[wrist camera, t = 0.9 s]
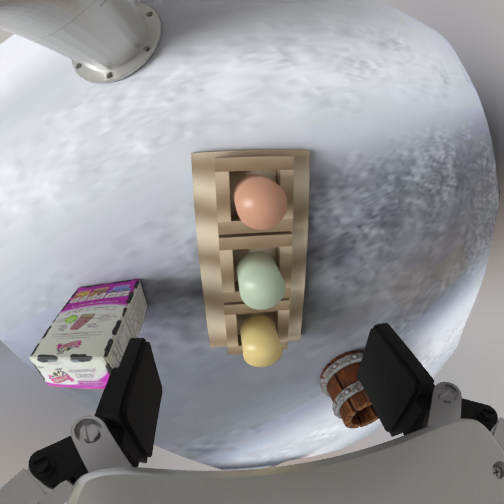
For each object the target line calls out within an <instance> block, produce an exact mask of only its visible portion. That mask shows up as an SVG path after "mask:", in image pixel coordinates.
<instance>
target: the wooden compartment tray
mask: <svg viewBox="0 0 504 504" xmlns="http://www.w3.org/2000/svg"><path fill="white" fill-rule="evenodd" d="M191 159H192V177H193V192H194V206H195V219H196V230H197V241H198V251H199V261H200V271H201V280H202V288H203V296H204V304H205V312H206V320H207V327H208V334H209V341H210V347H211V348H212V347H228V354H242V353H243V349H242V341H241V333H240V327H241V325H242V323H243V322H244V321H245V320H246V319H247V318H249V317H251V316H255V315H264V316H267V317H269V318H271V319H272V320H273V322H274V324H275V327H276V330H277V334H278V337H279V340H280V343H281V347H282V349H287V343H288V341H291V340H299V339H300V334H301V324H302V313H303V301H304V288H305V274H306V258H307V239H308V214H309V170H310V150H237V151H216V152H201V153H191ZM251 174H260V175H264V176H266V177H267V178H269V179H270V180H272V181H273V182H275V183H276V184H278V185H279V186H280V187H281V188H282V189H283V191H284V192H285V194H286V197H287V211H286V214H285V216H284V217H283V219H282V220H281V221H280V222H279V223H278V224H277V225H275V226H274V227H272V228H269V229H265V230H258V229H253V228H251V227H249V226H247V225H246V224H244V223H243V222H242V220H241V219H240V218H239V216H238V213H237V210H236V206H235V202H234V190H235V187H236V185H237V183H238V182H239V181H240V180H241V179H242V178H244V177H246V176H248V175H251ZM251 252H264V253H267V254H269V255H270V256H271V257H272V258H273V259H274V261H275V263H276V265H277V267H278V269H279V271H280V274H281V276H282V278H283V280H284V283H285V294H284V296H283V298H282V299H281V301H280V302H279V303H278V304H276V305H275V306H273V307H271V308H268V309H263V310H258V309H253V308H251V307H249V306H247V305H246V304H245V303H244V302H243V300H242V298H241V296H240V290H239V283H238V276H237V266H238V263H239V262H240V260H241V259H242V258H243V257H244V256H245V255H247V254H249V253H251Z"/></svg>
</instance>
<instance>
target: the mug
mask: <svg viewBox="0 0 504 504" xmlns="http://www.w3.org/2000/svg"><path fill="white" fill-rule="evenodd" d="M363 353H364V352H363V351H355V353H354V352H353V351H350V352H346V353H344V354H342V355H339V356H337V357H336V358H334V359H333V360H332V361H331V362H330V363H331V364H327V366H326V367H325V368H324V369H323V372H322V374H321V380H320V384H321V388H322V393H323V394H326V395H327V396H329V397H331V399H332V401H333V411H334V412H335V413H334V415H335V416H338V417H339V418H342V420H343V422H344V424H345V426H346V427H348V428H358V427H359V426H360V427H363V426H366V425H368V424H370V423H372V422H374V421H376V420H377V419H379V417H378V415H377V413H376V411H375V409H374V407H373V405H372V403H371V402H370V400H369V398H368V396H367V394H366V392H365V390H364V388H363V387H362V385H361V383H360V381H359V379H358V375H357V372H358V369H359V366H360V363H361V360H362V357H363Z"/></svg>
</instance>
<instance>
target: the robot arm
mask: <svg viewBox="0 0 504 504" xmlns="http://www.w3.org/2000/svg"><path fill="white" fill-rule="evenodd" d="M0 29H2V30H5V31H8V32H11V33H14V34H17V35H19V36H22V37H24V38H26V39H28V40H31V41H33V42H36V43H38V44H40V45H42V46H45V47H47V48H49V49H51V50H53V51H56V52H58V53H60V54H62V55H64V56H66V57H68V58H70V59H71V60H72V65H73V67H74V69H75V71H76V73H77V74H78V75H79V76H80V77H82V78H83V79H85V80H87V81H90V82H93V83H111V82H115V81H118V80H121V79H123V78H125V77H127V76H129V75H131V74H132V73H134V72H135V71H137V70H138V69H139V68H140V67H142V66H143V65H144V64H145V63H146V62H147V61H148V59H149V58H150V57H151V56H152V55H153V53H154V51H155V49H156V48H157V46H158V43H159V41H160V37H161V31H162V30H161V22H160V19H159V17H158V15H157V13H156V12H155V11H154V10H153V9H152V8H151V7H150V6H148V5H147V4H144V3H141V2H135V1H134V0H0ZM148 49H150V50H149V51H147V50H148ZM112 75H113V76H112ZM111 76H112V78H111ZM357 375H358V379H359V381H360V383H361V385H362V387H363V388H364V390H365V392H366V394H367V396H368V398H369V400H370V402H371V403H372V405H373V407H374V409H375V411H376V413H377V415H378V417H379V419H380V421H381V422H382V424H383V426H384V428H385V430H386V431H387V432H390V434H391V436H395V435H398V434H400V433H402V432H403V434H404V436H402V437H399V438H397V439H394V440H391V441H388V442H385V443H382V444H379V445H376V446H373V447H369V448H366V449H363V450H359V451H356V452H352V453H348V454H344V455H341V456H336V457H332V458H327V459H322V460H318V461H313V462H307V463H301V464H295V465H289V466H281V467H272V468H263V469H251V470H234V471H186V470H184V471H183V470H167V469H152V468H136V467H138V464H139V462H142V463H147V457H151V456H152V451H153V444H154V438H155V431H156V425H157V419H158V413H159V408H160V402H161V397H162V385H161V382H160V378H159V375H158V371H157V368H156V364H155V361H154V357H153V353H152V349H151V345H150V343H149V342H146V340H145V339H144V338H130V340H129V342H128V345H127V347H126V350H125V352H124V355H123V357H122V360H121V362H120V365H119V367H114V368H113V369H112V371H111V374H110V376H109V379H108V381H107V384H106V386H105V389H104V392H103V394H102V397H101V400H100V402H99V405H98V408H97V410H96V413H95V416H83V417H80V418H79V419H77V420H76V421H75V422H74V423H73V425H72V427H71V436H69V437H67V438H65V439H63V440H61V441H58V442H57V443H54V444H52V445H50V446H47V447H45V448H43V449H41V450H38V451H36V452H35V453H34V454H33V455H32V456H31V457H30V460H29V468H28V469H27V470H25V469H22V470H21V471H20V472H19V473H18V474H17V475H16V476H14V477H13V478H12V479H11V480H10V481H9V482H8V483H7V484H5V485H4V486H3V487H2V488H1V489H0V504H64V503H65V502H66V501H67V503H66V504H504V419H503V418H501V417H500V418H499V419H498V417H497V413H496V411H495V410H494V409H493V408H492V407H491V406H488V405H485V404H481V403H477V402H474V401H470V400H466V399H462V396H461V392H460V390H459V388H458V387H457V386H455V385H454V384H452V383H449V382H440V383H439V384H437V385H436V386H435V385H434V384H433V383H434V380H433V378H432V377H431V376H430V375H429V373H428V372H427V371H426V369H425V368H424V367H423V366H422V364H421V363H420V362H419V361H418V359H417V358H416V357H415V356H414V354H413V353H412V352H411V351H410V349H409V348H408V347H407V346H406V345H405V343H404V342H403V341H402V340H401V338H400V337H399V336H398V335H397V334H396V332H395V331H394V330H393V329H392V328H391V327H390V325H389V324H388V323H383V324H377V325H375V326H374V327H373V328H372V329H371V330H370V333H369V337H368V340H367V344H366V347H365V350H364V353H363V357H362V360H361V363H360V366H359V369H358V372H357Z"/></svg>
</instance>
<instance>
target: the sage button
mask: <svg viewBox="0 0 504 504" xmlns="http://www.w3.org/2000/svg"><path fill="white" fill-rule="evenodd" d="M237 276H238V283H239V290H240V296H241V298H242V300H243V302H244V303H245V304H246V305H247V306H249V307H251V308H253V309H258V310H263V309H268V308H271V307H273V306H275V305H276V304H278V303H279V302H280V301H281V299H282V298H283V296H284V294H285V283H284V280H283V278H282V276H281V274H280V271H279V269H278V267H277V265H276V263H275V261H274V259H273V258H272V257H271V256H270V255H269V254H267V253H264V252H251V253H249V254H247V255H245V256H244V257H243V258H242V259H241V260H240V262H239V263H238V266H237Z"/></svg>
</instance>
